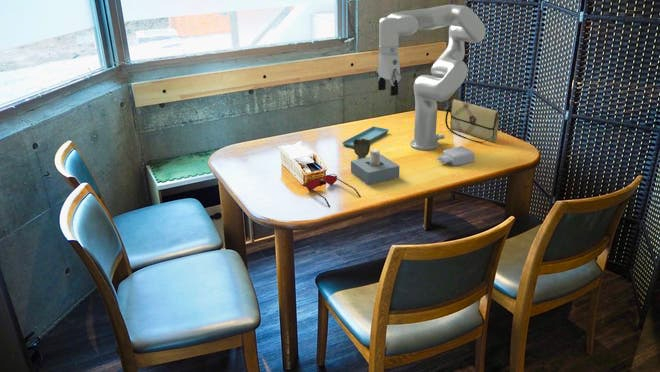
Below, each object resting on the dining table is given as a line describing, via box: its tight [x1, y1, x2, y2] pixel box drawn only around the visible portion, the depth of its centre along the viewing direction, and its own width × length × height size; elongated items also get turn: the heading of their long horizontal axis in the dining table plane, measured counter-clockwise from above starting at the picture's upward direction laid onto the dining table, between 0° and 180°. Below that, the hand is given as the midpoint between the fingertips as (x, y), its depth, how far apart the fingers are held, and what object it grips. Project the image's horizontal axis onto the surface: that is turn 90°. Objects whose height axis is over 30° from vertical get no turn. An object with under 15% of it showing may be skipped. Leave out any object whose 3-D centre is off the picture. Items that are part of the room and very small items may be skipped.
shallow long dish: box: [341, 125, 390, 149], centre depth 255 cm, size 26×9×2 cm, turn 143°
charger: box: [436, 145, 475, 167], centre depth 227 cm, size 5×9×15 cm
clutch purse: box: [445, 98, 501, 144], centre depth 252 cm, size 30×7×15 cm, turn 36°
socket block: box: [350, 154, 401, 186], centre depth 217 cm, size 14×14×5 cm
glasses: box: [305, 173, 362, 208], centre depth 202 cm, size 14×16×5 cm
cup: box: [353, 138, 372, 159], centre depth 233 cm, size 8×7×8 cm
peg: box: [369, 149, 381, 167], centre depth 216 cm, size 4×4×10 cm
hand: (387, 92), depth 223 cm, fingers open, 9 cm apart
